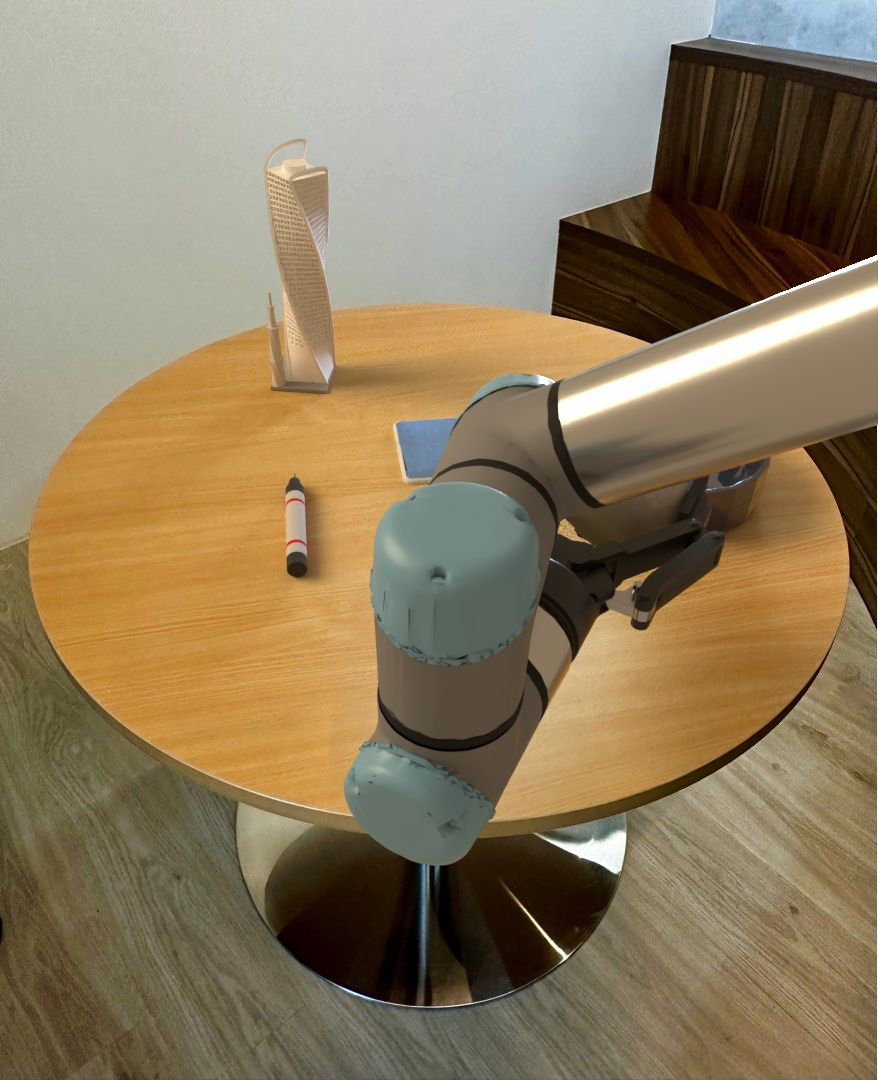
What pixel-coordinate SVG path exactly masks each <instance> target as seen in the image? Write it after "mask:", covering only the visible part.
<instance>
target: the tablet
mask: <svg viewBox="0 0 878 1080" xmlns="http://www.w3.org/2000/svg"><path fill="white" fill-rule="evenodd" d="M457 418H458V416H456V417H442V418H441V417H440V418H429V419H427V418H426V419H411V420H398V421H396V422H394V423H393V425H392V430H393V431H392V432H393V435H394V441H395V444H396V453H397V457H398V462H399V467H400V472H401V478H402V481H403V483H404V484H406V485H408V486H409V485H411V486H415V485H426V484H428V485H429V483H430V481H431V479H432V477H433V474H434V472H435V470H436V468H437V465H438V463H439V461H440V459H441V456H442V454H443V452H444V449H445V447H446V445H447V443H448V440H449V436H450V433H451V431H452V428H453V426H454V424H455V421H456V419H457Z"/></svg>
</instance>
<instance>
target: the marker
mask: <svg viewBox="0 0 878 1080" xmlns="http://www.w3.org/2000/svg"><path fill="white" fill-rule="evenodd" d="M284 502H285V506H284V507H285V508H284V509H285V559H286V572H287V574H288V575H289V576H290V577H293V578H300V577H303V576H305V575H306V574H307V572H308V547H307V522H306V521H307V520H306V498H305V487H304V485H302V483H301V480H300V479H299V477H296V473H293V477H290V479H289V481H288V484H287V485H286V487H285V501H284Z"/></svg>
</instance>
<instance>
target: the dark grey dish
mask: <svg viewBox="0 0 878 1080" xmlns="http://www.w3.org/2000/svg"><path fill="white" fill-rule="evenodd" d="M771 459H772V457H768V458H765V459H761V460H758V461H755V462H751V463H748V464H745V465H741V466H738V467H735V468H731V469H728V470H725V471H721V472H718V473H715V474H711V475H710V476H709V480H708V484H707V487H706V491H705V495H704V498H703V499H704V500H707V501H711V502H712V510H711V513H710V517H709V521H708V523H707V525H706V528H705V529H706V530H707V531H709V532H711V531H719V532H725V531H727V530H728V529H731V528H733V527H735V526H737V525H738V524H740V523H742V522H744V521H746V520H747V518H749V516H750V515H751V514H752V513H753V512H754V510H755V509H756V507H757V506H758V503H759V500H760V497H761V494H762V492H763V491H762V490H763V487H764V484H765V481H766V478H767V475H768V473H769V472H768V471H769V469H770V466H771ZM694 480H695V479H694ZM694 480H691V481H689V487H688V492H689V490H690V488H691V486H692V484H693V482H694Z"/></svg>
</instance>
